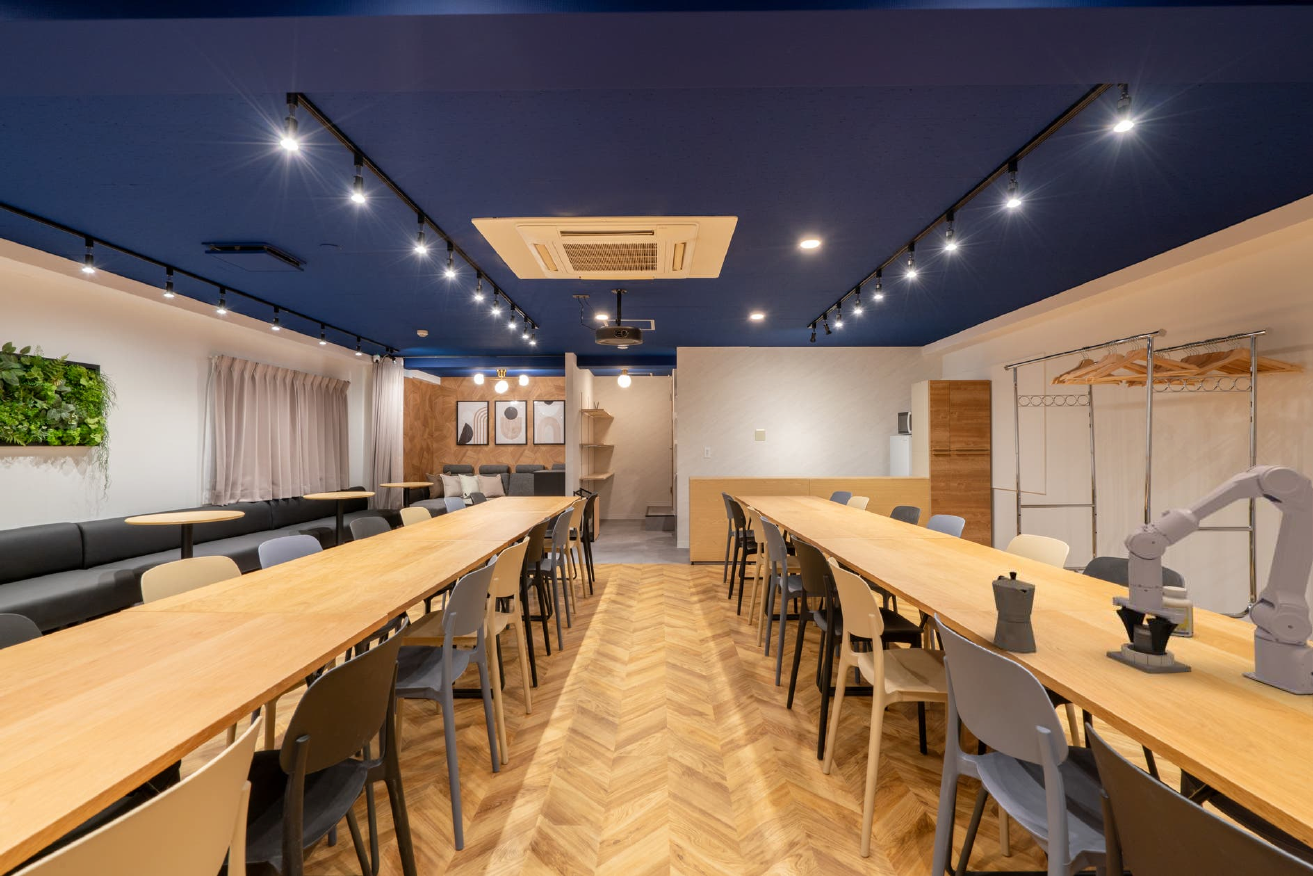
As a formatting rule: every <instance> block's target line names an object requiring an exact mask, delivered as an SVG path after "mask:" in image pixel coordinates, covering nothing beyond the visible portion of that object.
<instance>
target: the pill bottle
mask: <svg viewBox="0 0 1313 876" xmlns="http://www.w3.org/2000/svg"><path fill="white" fill-rule="evenodd" d="M1187 596H1188V589H1187V588H1185V587H1180V586H1179V587H1178V586H1172V585H1171V586H1169V585H1168V586H1167V585H1164V586H1163V607H1166V608H1168V609H1170V610H1173V611H1175V612H1177V613H1181V614H1183V622H1184V623H1180V624H1179V625H1178V626H1177V627H1176V628H1175V630H1174V631H1173V632H1172V634H1171V636H1175V637H1182V636H1184V638H1187V637H1188V638H1189V637H1192V636H1194V605H1193V601H1192V600H1190V599H1189V598H1187Z"/></svg>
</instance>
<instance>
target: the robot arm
mask: <svg viewBox="0 0 1313 876" xmlns="http://www.w3.org/2000/svg"><path fill="white" fill-rule="evenodd" d="M1312 481H1313V480H1312V479H1310V478H1309V477H1308V476H1306V475H1305V474H1303V472H1301V471H1300V470H1298V469H1297V468H1294V467H1293V466H1288V465H1269V464H1257V465H1256V464H1255V465H1254V466H1251V467H1249V468H1247V470H1245V471H1244V472H1243V471H1242V472H1240V473H1238V474H1235V475H1234V476H1232V477H1231V478H1229V479H1228V480H1226V481H1224V482H1223V483H1222V484H1220V485H1218V486H1217V487H1216V488H1214V489H1213V490H1212V491H1210V492H1208V493H1207V494H1205V495H1204V496H1203V497H1201V498H1199V499H1198V500H1196V501H1195V502H1193V503H1192V504H1191V505H1189V506H1188V507H1186V508H1174V507H1173V508H1172V509H1170V510H1169V509H1164V510H1163V511H1161V512H1160V513H1161V515H1160V516H1159V517H1157V518H1156V519H1154V520H1153V521H1151V522H1150V523H1148V524H1146V523H1143V524H1141V525H1140V528H1142V529H1135V530H1133V531H1131V532H1129V533H1128V534H1127V535H1126V538H1125V540H1124V546H1125V548H1126V549H1127V550H1128V563H1127V566H1128V568H1127V572H1128V575H1127V576H1128V578H1127V579H1128V597H1124V596H1112V605H1113V606H1115V607H1121V608H1120V609H1116V614H1117V616H1119V619H1120V620H1121V622H1122V623H1123V626H1124V628H1125V631H1126V633H1127V636H1128V639H1129V643H1134V624H1144V620H1146V622H1147V625H1149V628H1150V631H1151V636H1152V647H1153V650H1154V651H1156V652H1165V650H1167V646H1168V642H1169V640H1170V637H1171V636H1172V635H1171V634H1172V632H1173V631H1174V630H1175V628H1176V627H1177V626H1178V625H1179V624H1180V623H1184V622H1183V614H1181V613H1177V612H1175V611H1173V610H1170V609H1168V608H1166V607H1163V596H1164V593H1163V587H1164V586H1163V585H1164V584H1163V566H1162V557H1163V555H1164V554H1165V553H1166V550H1167V547H1171V546H1173V545H1174V544H1177V543H1178V542H1179V541H1182V540H1183V539H1185V538H1186V537H1188V536H1190V535H1192V534H1193V533H1194V532H1197V531H1198V530H1199V529H1200V522H1201V521H1202V520H1203V519H1206V518H1207V517H1209V516H1210V515H1213V514H1214V513H1215V514H1216V512H1218V511H1221V510H1222V509H1223V508H1226V507H1228V506H1229V505H1231V504H1233V503H1235V502H1237V501H1239V500H1242V499H1256V498H1265V500H1268V501H1269V502H1270V503H1271V504H1272V505H1274V506H1275V508H1278V510H1279V511H1280V512H1281V513H1282V517H1281V522H1280V526H1279V531H1278V535H1277V539H1276V543H1275V548H1274V553H1273V557H1272V562H1271V565H1270V570H1269V574H1268V579H1267V585H1266V587H1264V588H1263V589H1262V590H1261V591H1260V592H1259V595H1258V598H1257V600H1256V601H1255V602H1254V603H1253V604H1251V606H1250V607H1249V610H1248V616H1249V619H1250V620H1251V622H1252V623H1253V624H1254V625H1256V628H1255V629H1254V630H1253V645H1254V672H1242V676H1244V675H1245V676H1244V677H1246V676H1247V678H1250V679H1252V680H1256V681H1259V682H1261V683H1264V684H1267V685H1270V686H1272V687H1275V688H1278V689H1281V690H1284V691H1286V692H1289V693H1292V694H1296V695H1304V694H1305V695H1307V694H1311V695H1312V694H1313V647H1312V646H1311V645H1310V644H1309V643H1308V639H1309V638H1310V637H1311V635H1312V633H1313V624H1312V623H1311V621H1310V611H1311V610H1310V609H1311V608H1310V606H1309V604H1308V601H1307V600H1306V592H1307V588H1308V584H1309V583H1308V582H1309V579H1310V574H1311V570H1312V566H1313V486H1312V485H1313V484H1312ZM1146 615H1148V616H1152V617H1151V618H1150V617H1149V618H1145V617H1146Z"/></svg>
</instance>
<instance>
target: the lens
mask: <svg viewBox="0 0 1313 876" xmlns="http://www.w3.org/2000/svg"><path fill="white" fill-rule="evenodd" d="M1133 651H1136V652H1140V653H1144V654H1150V655H1163V653H1164V652H1156V651H1154V650H1153V647H1152V636H1151V631H1150V628H1149V625H1148V624H1144V623H1143V624H1134V646H1133Z"/></svg>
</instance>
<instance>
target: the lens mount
mask: <svg viewBox="0 0 1313 876" xmlns="http://www.w3.org/2000/svg"><path fill="white" fill-rule="evenodd" d="M1133 646H1134V643H1131V642H1129V643H1123V644H1121V645H1120V650H1117V651H1106V654H1105V655H1106V657H1107V658H1110V657H1111V658H1110V659H1112V658H1113V660H1115V661H1117V662H1120V663H1122V664H1124V665H1127V666H1129V667H1132V666H1133V667H1132V668H1135V669H1137V670H1139V671H1142V672H1144V673H1147V674H1162V673H1163V674H1164V673H1167V672H1169V673H1187V671H1191V672H1192V666H1190V665H1188V664H1185V663H1181V662H1180V661H1176V660H1175V654H1174V653H1173V652H1171V651H1170V650H1168V649H1165V652H1164V653H1163V655H1150V654H1144V653H1140V652H1136V651H1133ZM1185 671H1186V672H1185ZM1167 674H1168V673H1167Z"/></svg>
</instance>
